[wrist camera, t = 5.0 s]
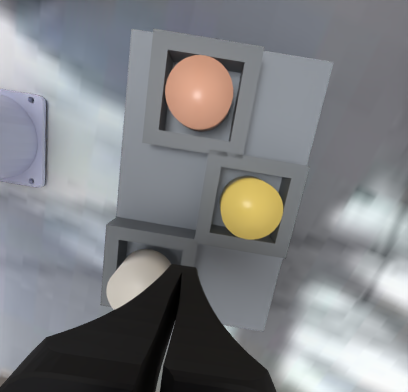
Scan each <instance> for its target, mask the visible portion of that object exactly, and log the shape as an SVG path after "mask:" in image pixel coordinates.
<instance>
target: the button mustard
mask: <svg viewBox="0 0 408 392" xmlns="http://www.w3.org/2000/svg"><path fill="white" fill-rule="evenodd" d="M220 209H221V216H222V220H223V222H224V224H225V226H226V228H227V229H228V230H229V231H230V232H231V233H232V234H234V235H235V236H237V237H240V238H243V239H248V240H254V239H259V238H263V237H265V236H267V235H269V234H270V233H271V232H273V231H274V230H275V229H276V227H277V226H278V225H279V223H280V221H281V218H282V215H283V203H282V199H281V197H280V195H279V193H278V192H277V191H276V190H275V189H274V188H273V187H272V186H271V185H269V184H268V183H266V182H264V181H263V180H261V179H259V178H257V177H254V176H240V177H237V178H235V179H233V180H231V181H230V182H229V183H228V184H227V185H226V186H225V187H224V189H223V191H222V193H221V196H220Z"/></svg>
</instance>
